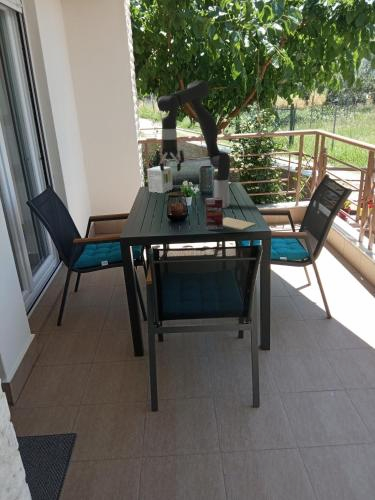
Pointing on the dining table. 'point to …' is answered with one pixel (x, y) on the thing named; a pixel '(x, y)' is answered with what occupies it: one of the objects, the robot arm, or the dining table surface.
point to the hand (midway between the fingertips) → (170, 171)
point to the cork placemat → (236, 223)
